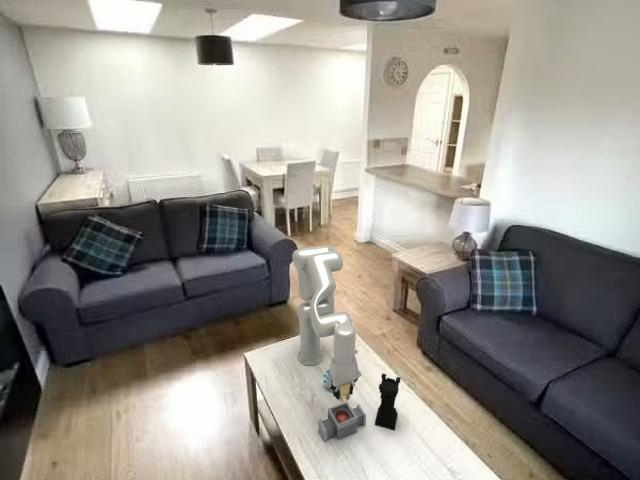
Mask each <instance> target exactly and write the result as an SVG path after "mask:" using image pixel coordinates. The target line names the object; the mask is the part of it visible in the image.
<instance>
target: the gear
mask: <svg viewBox="0 0 640 480" xmlns="http://www.w3.org/2000/svg"><path fill="white" fill-rule="evenodd" d="M325 372H326V373H327V374H326V373H325V374H324V375H323V378H326V379H323V383H324V384H325V383H326V382H327V381H328V379H329V369H328V370H326V371H325ZM331 384H333V383H331ZM329 390H330V392H333V390H331V389H330V388H329Z"/></svg>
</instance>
